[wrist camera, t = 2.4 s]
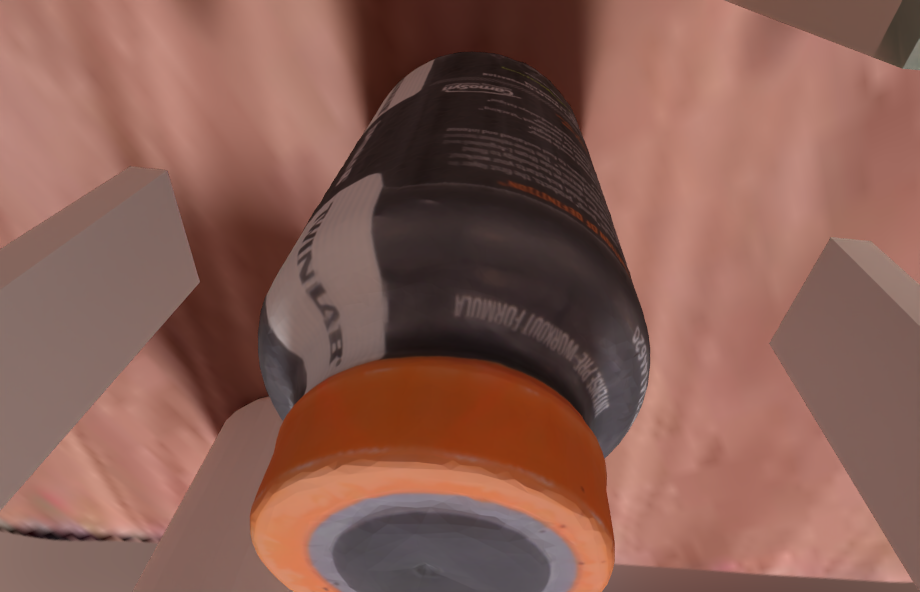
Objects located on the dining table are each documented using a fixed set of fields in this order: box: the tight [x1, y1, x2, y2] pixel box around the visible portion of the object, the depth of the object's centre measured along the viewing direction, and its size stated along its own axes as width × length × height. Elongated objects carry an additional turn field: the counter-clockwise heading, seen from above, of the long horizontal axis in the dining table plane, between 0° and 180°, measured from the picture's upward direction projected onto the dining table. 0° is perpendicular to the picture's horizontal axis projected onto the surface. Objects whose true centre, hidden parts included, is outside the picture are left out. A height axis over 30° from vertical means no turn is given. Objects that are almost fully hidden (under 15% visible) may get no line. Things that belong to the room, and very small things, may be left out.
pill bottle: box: [250, 52, 650, 592], centre depth 10 cm, size 6×6×11 cm
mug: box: [132, 396, 294, 592], centre depth 20 cm, size 12×9×9 cm
